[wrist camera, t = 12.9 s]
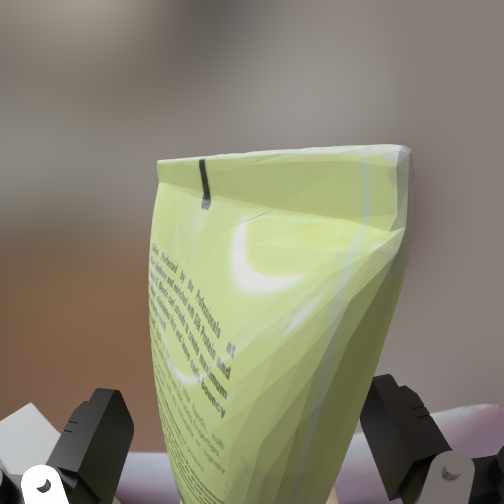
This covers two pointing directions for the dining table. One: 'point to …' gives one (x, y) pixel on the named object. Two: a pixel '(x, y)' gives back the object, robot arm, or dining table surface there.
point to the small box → (27, 440)
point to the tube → (272, 312)
